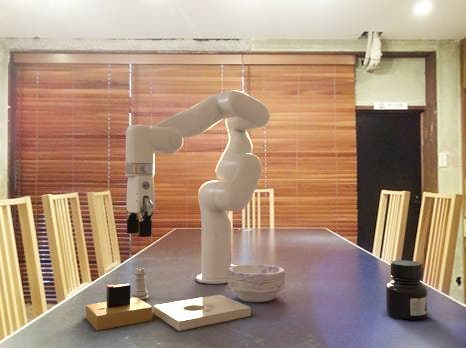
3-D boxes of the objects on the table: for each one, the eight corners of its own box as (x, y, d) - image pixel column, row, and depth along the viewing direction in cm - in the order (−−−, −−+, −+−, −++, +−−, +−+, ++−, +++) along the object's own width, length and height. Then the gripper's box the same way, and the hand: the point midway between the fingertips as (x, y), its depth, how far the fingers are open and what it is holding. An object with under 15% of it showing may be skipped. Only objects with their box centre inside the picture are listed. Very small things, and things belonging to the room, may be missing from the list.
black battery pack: (128, 303, 99) (128, 282, 99) (130, 304, 98) (130, 283, 98) (106, 306, 96) (106, 285, 96) (108, 308, 95) (108, 286, 95)
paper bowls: (290, 293, 119) (290, 264, 119) (276, 308, 105) (276, 275, 105) (239, 289, 124) (239, 261, 124) (219, 303, 110) (218, 272, 110)
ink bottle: (423, 324, 92) (422, 268, 92) (381, 317, 97) (381, 264, 97) (430, 312, 100) (430, 261, 101) (392, 307, 105) (391, 258, 105)
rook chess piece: (144, 301, 111) (144, 270, 112) (128, 300, 112) (128, 270, 113) (151, 297, 116) (151, 267, 116) (135, 296, 117) (135, 266, 117)
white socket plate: (220, 302, 110) (220, 294, 110) (250, 315, 99) (250, 307, 99) (153, 314, 101) (153, 305, 101) (178, 331, 89) (178, 321, 89)
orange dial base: (136, 309, 104) (136, 296, 104) (151, 320, 96) (151, 306, 96) (85, 318, 98) (85, 304, 98) (97, 330, 89) (97, 315, 90)
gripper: (165, 170, 110) (164, 237, 109) (142, 172, 125) (141, 231, 124) (137, 169, 106) (135, 238, 105) (116, 171, 120) (115, 232, 120)
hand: (138, 234), depth 115 cm, fingers open, 9 cm apart
